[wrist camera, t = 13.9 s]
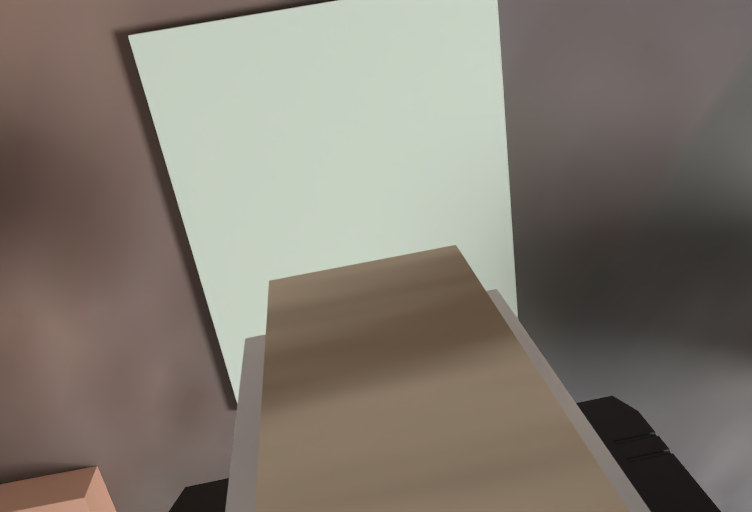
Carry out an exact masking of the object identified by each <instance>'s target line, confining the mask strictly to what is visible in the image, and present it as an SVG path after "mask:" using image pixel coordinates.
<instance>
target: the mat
mask: <svg viewBox="0 0 752 512" xmlns="http://www.w3.org/2000/svg"><path fill="white" fill-rule="evenodd" d="M128 38H129V41H130V44H131V48H132V51H133V55H134V58H135V61H136V65H137V68H138V71H139V75H140V78H141V81H142V85H143V88H144V92H145V95H146V98H147V102H148V105H149V108H150V112H151V115H152V118H153V122H154V125H155V129H156V132H157V135H158V139H159V142H160V145H161V149H162V152H163V155H164V159H165V162H166V166H167V169H168V172H169V176H170V179H171V182H172V186H173V189H174V192H175V196H176V199H177V203H178V206H179V209H180V213H181V216H182V219H183V223H184V226H185V229H186V233H187V236H188V240H189V243H190V246H191V250H192V253H193V256H194V260H195V263H196V266H197V270H198V273H199V277H200V280H201V283H202V287H203V290H204V293H205V297H206V300H207V303H208V307H209V310H210V314H211V317H212V320H213V324H214V327H215V330H216V334H217V337H218V341H219V344H220V347H221V351H222V354H223V357H224V361H225V364H226V367H227V371H228V374H229V378H230V381H231V384H232V388H233V391H234V394H235V398H236V401H237V404H238V396H239V387H240V379H241V370H242V361H243V353H244V344H245V338H250V337H255V336H260V335H265V334H266V321H267V305H268V289H269V281H270V280H275V279H280V278H285V277H291V276H296V275H301V274H306V273H311V272H317V271H322V270H327V269H332V268H337V267H343V266H348V265H353V264H358V263H363V262H369V261H374V260H379V259H384V258H390V257H395V256H400V255H405V254H410V253H416V252H421V251H426V250H431V249H436V248H442V247H447V246H452V245H456V246H457V247H458V249H459V250H460V252H461V253H462V255H463V256H464V258H465V259H466V261H467V263H468V264H469V266H470V267H471V269H472V270H473V272H474V273H475V275H476V276H477V278H478V279H479V281H480V283H481V284H482V286H483V287H484V289H485V290H486V291H488V290H493V289H497V290H498V291H499V293H500V294H501V295H502V297H503V298H504V300H505V301H506V303H507V304H508V306H509V307H510V308H511V310H512V311H513V313H514V314H515V316H516V317H517V319H518V312H517V296H516V281H515V265H514V250H513V234H512V219H511V203H510V188H509V172H508V157H507V141H506V126H505V110H504V95H503V79H502V64H501V48H500V33H499V17H498V2H497V0H335V1H329V2H323V3H317V4H311V5H305V6H299V7H293V8H287V9H281V10H275V11H269V12H263V13H257V14H251V15H245V16H239V17H233V18H227V19H221V20H215V21H209V22H203V23H197V24H191V25H185V26H179V27H173V28H167V29H161V30H156V31H150V32H144V33H138V34H132V35H129V36H128Z"/></svg>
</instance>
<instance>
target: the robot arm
mask: <svg viewBox="0 0 752 512" xmlns="http://www.w3.org/2000/svg"><path fill="white" fill-rule="evenodd" d="M486 292H487V293H488V295H489V296H490V298H491V299H492V301H493V303H494V304H495V306H496V307H497V309H498V310H499V312H500V313H501V315H502V316H503V318H504V320H505V321H506V323H507V324H508V326H509V327H510V329H511V330H512V332H513V333H514V335H515V336H516V338H517V340H518V341H519V343H520V344H521V346H522V347H523V349H524V350H525V352H526V353H527V355H528V357H529V358H530V360H531V361H532V363H533V364H534V366H535V367H536V369H537V370H538V372H539V373H540V375H541V377H542V378H543V380H544V381H545V383H546V384H547V386H548V387H549V389H550V390H551V392H552V394H553V395H554V397H555V398H556V400H557V401H558V403H559V404H560V406H561V407H562V409H563V410H564V412H565V414H566V415H567V417H568V418H569V420H570V421H571V423H572V424H573V426H574V427H575V429H576V430H577V432H578V434H579V435H580V437H581V438H582V440H583V441H584V443H585V444H586V446H587V447H588V449H589V451H590V452H591V454H592V455H593V457H594V458H595V460H596V461H597V463H598V464H599V466H600V467H601V469H602V471H603V472H604V474H605V475H606V477H607V478H608V480H609V481H610V483H611V484H612V486H613V488H614V489H615V491H616V492H617V494H618V495H619V497H620V498H621V500H622V501H623V503H624V504H625V506H626V508H627V509H628V511H629V512H721V511H720V510H719V509H718V508H717V506H716V505H715V504H714V503H713V502H712V500H711V499H710V498H709V497H708V495H707V494H706V493H705V492H704V491H703V489H702V488H701V487H700V486H699V485H698V483H697V482H696V481H695V480H694V478H693V477H692V476H691V475H690V474H689V472H688V471H687V470H686V469H685V468H684V466H683V465H682V464H681V463H680V461H679V460H678V459H677V458H676V457H675V455H674V454H671V453H670V451H669V448H668V447H667V446H666V444H665V443H664V442H663V441H662V440H661V438H660V437H659V436H656V434H655V431H654V430H653V429H652V427H651V426H650V425H649V424H648V423H647V421H646V420H645V419H644V418H643V417H642V415H641V414H640V413H639V412H638V411H637V410H635V409H634V408H632V407H630V406H629V405H627V404H625V403H624V402H622V401H620V400H619V399H617V398H615V397H614V396H609V397H604V398H600V399H595V400H590V401H585V402H580V403H575V401H574V400H573V398H572V397H571V395H570V394H569V392H568V391H567V390H566V388H565V387H564V385H563V384H562V382H561V381H560V379H559V378H558V377H557V375H556V374H555V372H554V371H553V369H552V368H551V366H550V365H549V364H548V362H547V361H546V359H545V358H544V356H543V355H542V353H541V352H540V350H539V349H538V348H537V346H536V345H535V343H534V342H533V340H532V339H531V337H530V336H529V335H528V333H527V332H526V330H525V329H524V327H523V326H522V324H521V323H520V322H519V320H518V319H517V317H516V316H515V314H514V313H513V311H512V310H511V308H510V307H509V306H508V304H507V303H506V301H505V300H504V298H503V297H502V295H501V294H500V293H499V291H498V290H497V289H493V290H488V291H486ZM265 337H266V334H265V335H260V336H255V337H250V338H245V344H244V353H243V361H242V370H241V379H240V387H239V396H238V405H237V413H236V422H235V430H234V439H233V448H232V456H231V465H230V474H229V478H227V479H223V480H218V481H213V482H208V483H203V484H199V485H194V486H189V487H185V489H184V490H183V491H182V493H181V494H180V496H179V497H178V499H177V500H176V502H175V503H174V505H173V506H172V508H171V509H170V511H169V512H255V499H256V483H257V466H258V450H259V434H260V418H261V402H262V386H263V370H264V354H265Z"/></svg>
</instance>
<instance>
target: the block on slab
mask: <svg viewBox="0 0 752 512" xmlns="http://www.w3.org/2000/svg"><path fill="white" fill-rule="evenodd" d="M255 512H629V511H628V509H627V508H626V506H625V504H624V503H623V501H622V500H621V498H620V497H619V495H618V494H617V492H616V491H615V489H614V488H613V486H612V484H611V483H610V481H609V480H608V478H607V477H606V475H605V474H604V472H603V471H602V469H601V467H600V466H599V464H598V463H597V461H596V460H595V458H594V457H593V455H592V454H591V452H590V451H589V449H588V447H587V446H586V444H585V443H584V441H583V440H582V438H581V437H580V435H579V434H578V432H577V430H576V429H575V427H574V426H573V424H572V423H571V421H570V420H569V418H568V417H567V415H566V414H565V412H564V410H563V409H562V407H561V406H560V404H559V403H558V401H557V400H556V398H555V397H554V395H553V394H552V392H551V390H550V389H549V387H548V386H547V384H546V383H545V381H544V380H543V378H542V377H541V375H540V373H539V372H538V370H537V369H536V367H535V366H534V364H533V363H532V361H531V360H530V358H529V357H528V355H527V353H526V352H525V350H524V349H523V347H522V346H521V344H520V343H519V341H518V340H517V338H516V336H515V335H514V333H513V332H512V330H511V329H510V327H509V326H508V324H507V323H506V321H505V320H504V318H503V316H502V315H501V313H500V312H499V310H498V309H497V307H496V306H495V304H494V303H493V301H492V299H491V298H490V296H489V295H488V293H487V292H486V290H485V289H484V287H483V286H482V284H481V283H480V281H479V279H478V278H477V276H476V275H475V273H474V272H473V270H472V269H471V267H470V266H469V264H468V263H467V261H466V259H465V258H464V256H463V255H462V253H461V252H460V250H459V249H458V247H457V246H456V245H452V246H447V247H442V248H436V249H431V250H426V251H421V252H416V253H410V254H405V255H400V256H395V257H390V258H384V259H379V260H374V261H369V262H363V263H358V264H353V265H348V266H343V267H337V268H332V269H327V270H322V271H317V272H311V273H306V274H301V275H296V276H291V277H285V278H280V279H275V280H270V281H269V289H268V305H267V321H266V337H265V354H264V370H263V386H262V402H261V418H260V434H259V450H258V466H257V483H256V499H255Z"/></svg>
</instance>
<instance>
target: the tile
mask: <svg viewBox="0 0 752 512" xmlns="http://www.w3.org/2000/svg"><path fill="white" fill-rule="evenodd" d="M0 512H116V510H115V508H114V505H113V503H112V500H111V498H110V496H109V493H108V491H107V488H106V486H105V483H104V481H103V479H102V476H101V474H100V471H99V469H98V467H97V466H94V467H89V468H83V469H78V470H73V471H68V472H62V473H57V474H52V475H47V476H42V477H36V478H31V479H26V480H21V481H15V482H10V483H5V484H0Z"/></svg>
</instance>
